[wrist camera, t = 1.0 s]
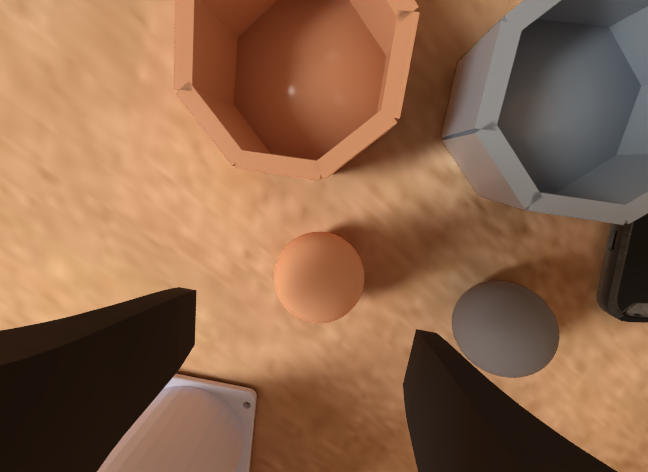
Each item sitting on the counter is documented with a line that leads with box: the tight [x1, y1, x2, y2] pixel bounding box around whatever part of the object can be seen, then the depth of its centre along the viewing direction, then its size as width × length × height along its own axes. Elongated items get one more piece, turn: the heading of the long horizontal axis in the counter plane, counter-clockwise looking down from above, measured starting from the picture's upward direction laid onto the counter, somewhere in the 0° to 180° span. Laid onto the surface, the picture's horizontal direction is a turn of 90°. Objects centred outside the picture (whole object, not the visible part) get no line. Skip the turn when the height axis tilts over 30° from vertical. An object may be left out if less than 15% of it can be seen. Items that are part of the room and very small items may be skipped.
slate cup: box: [441, 0, 648, 225], centre depth 12 cm, size 8×8×4 cm
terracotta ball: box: [274, 232, 364, 323], centre depth 15 cm, size 4×4×4 cm
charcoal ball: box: [452, 281, 559, 378], centre depth 15 cm, size 4×4×4 cm
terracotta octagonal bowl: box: [174, 0, 420, 180], centre depth 13 cm, size 8×8×4 cm
